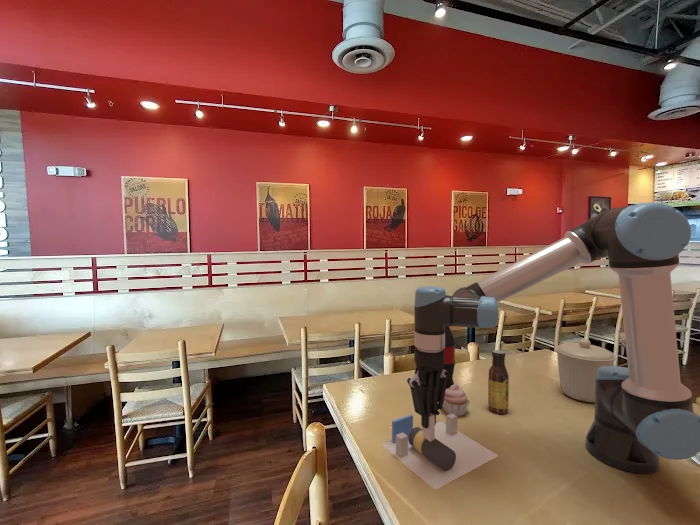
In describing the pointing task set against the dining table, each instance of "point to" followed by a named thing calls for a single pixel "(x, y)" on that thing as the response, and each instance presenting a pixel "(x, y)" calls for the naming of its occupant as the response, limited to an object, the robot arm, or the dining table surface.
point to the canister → (581, 368)
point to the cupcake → (455, 401)
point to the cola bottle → (449, 355)
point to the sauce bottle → (498, 384)
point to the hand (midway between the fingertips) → (428, 438)
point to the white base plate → (464, 447)
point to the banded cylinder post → (432, 449)
